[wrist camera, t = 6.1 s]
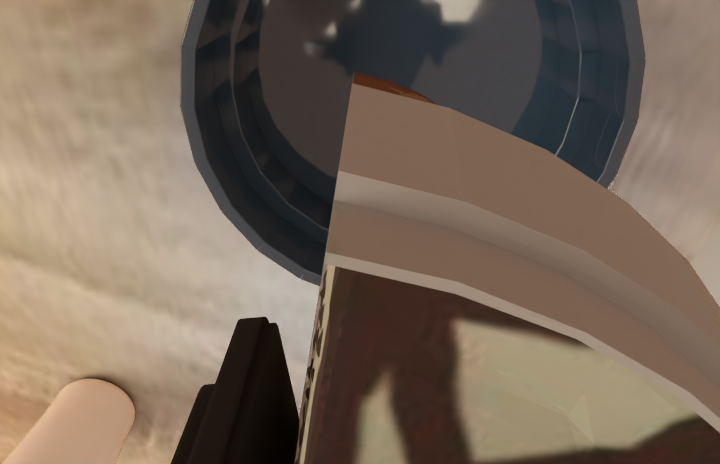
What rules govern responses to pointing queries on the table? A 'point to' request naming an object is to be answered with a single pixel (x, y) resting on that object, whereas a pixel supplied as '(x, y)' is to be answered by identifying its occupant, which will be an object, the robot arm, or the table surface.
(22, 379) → the table surface
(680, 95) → the table surface
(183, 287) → the table surface
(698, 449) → the food container
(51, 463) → the drinking glass
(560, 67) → the bowl
